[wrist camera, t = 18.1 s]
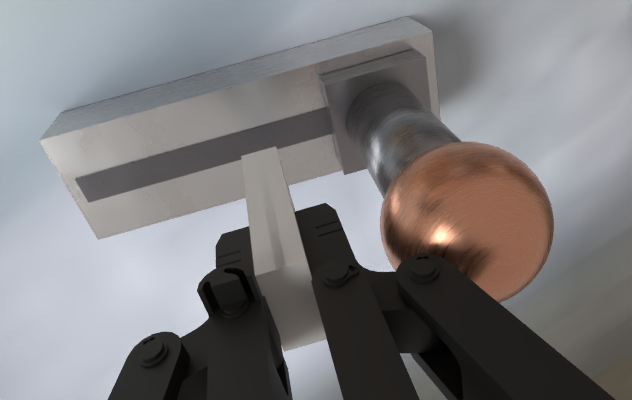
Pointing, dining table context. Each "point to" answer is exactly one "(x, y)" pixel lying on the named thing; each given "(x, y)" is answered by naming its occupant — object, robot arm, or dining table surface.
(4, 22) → the dining table surface
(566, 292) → the dining table surface
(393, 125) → the lever handle
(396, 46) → the lever track
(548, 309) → the dining table surface
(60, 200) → the dining table surface
